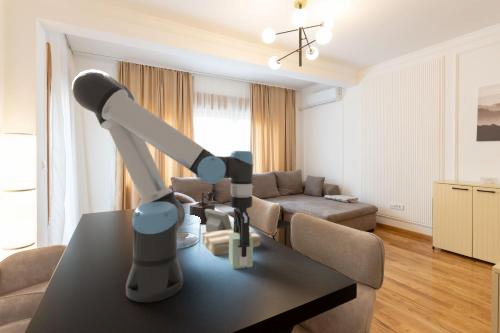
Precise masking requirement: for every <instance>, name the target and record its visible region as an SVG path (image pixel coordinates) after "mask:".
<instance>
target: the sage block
mask: <svg viewBox="0 0 500 333" xmlns="http://www.w3.org/2000/svg"><path fill="white" fill-rule="evenodd" d="M249 244H250V246H249V247H248V249H247V265H245V266H239V248H238V246H240V235H239V232H237V233H229V253H228V262H229V264H230V266H232V267H231V268H232V270H235V269H245V267H247V268H253V267H254V266H253V265H254V261H253V260H254V248H253V237H252V236H251V235H250V234H249ZM252 266H253V267H252Z"/></svg>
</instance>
